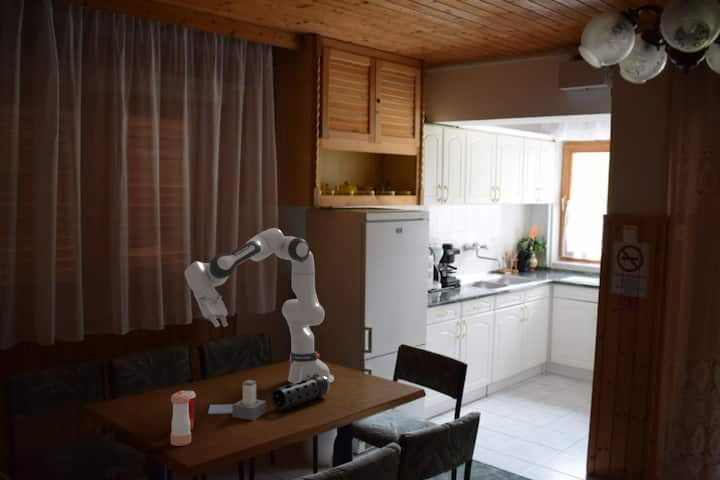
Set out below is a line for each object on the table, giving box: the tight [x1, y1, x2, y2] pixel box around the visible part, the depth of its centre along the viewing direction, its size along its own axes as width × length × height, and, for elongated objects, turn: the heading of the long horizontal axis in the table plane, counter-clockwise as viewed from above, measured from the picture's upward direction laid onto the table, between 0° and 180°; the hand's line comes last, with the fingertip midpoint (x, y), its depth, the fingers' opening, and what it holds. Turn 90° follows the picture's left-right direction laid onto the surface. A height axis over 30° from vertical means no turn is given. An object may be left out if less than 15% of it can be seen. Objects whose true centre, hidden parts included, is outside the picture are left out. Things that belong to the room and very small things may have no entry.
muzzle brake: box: [270, 375, 331, 412], centre depth 289 cm, size 10×28×10 cm, turn 141°
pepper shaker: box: [170, 390, 192, 447], centre depth 244 cm, size 7×7×19 cm
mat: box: [207, 403, 234, 415], centre depth 280 cm, size 10×10×1 cm
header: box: [231, 398, 267, 421], centre depth 274 cm, size 10×10×5 cm
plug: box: [242, 379, 257, 406], centre depth 274 cm, size 4×4×14 cm
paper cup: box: [182, 390, 197, 431], centre depth 258 cm, size 8×8×14 cm
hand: (221, 326), depth 280 cm, fingers open, 8 cm apart
